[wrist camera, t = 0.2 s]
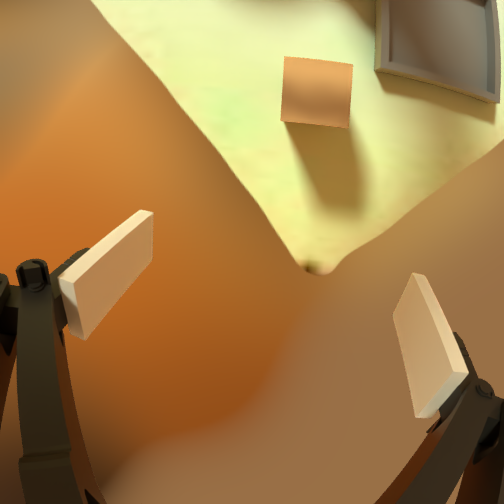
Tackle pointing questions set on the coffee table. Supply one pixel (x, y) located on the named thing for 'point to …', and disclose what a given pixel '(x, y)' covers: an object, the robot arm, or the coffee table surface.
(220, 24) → the coffee table surface
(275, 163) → the coffee table surface
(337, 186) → the coffee table surface
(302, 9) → the coffee table surface
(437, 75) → the tray
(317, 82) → the oak block
